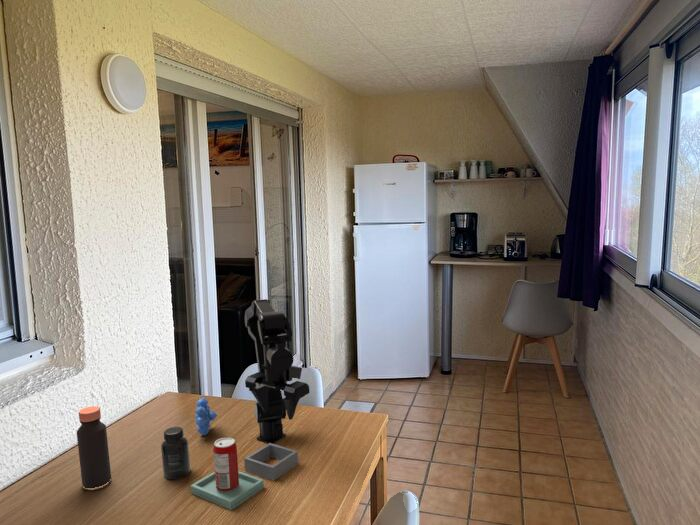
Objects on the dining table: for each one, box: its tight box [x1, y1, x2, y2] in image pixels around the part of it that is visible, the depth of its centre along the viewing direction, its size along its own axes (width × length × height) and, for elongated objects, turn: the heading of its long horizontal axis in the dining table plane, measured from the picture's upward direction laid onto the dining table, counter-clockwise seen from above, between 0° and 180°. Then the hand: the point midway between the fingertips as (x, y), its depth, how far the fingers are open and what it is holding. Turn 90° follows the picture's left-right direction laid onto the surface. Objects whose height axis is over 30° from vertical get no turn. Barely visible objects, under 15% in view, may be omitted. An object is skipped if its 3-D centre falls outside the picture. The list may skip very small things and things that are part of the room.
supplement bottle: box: [160, 426, 191, 480], centre depth 139 cm, size 7×7×12 cm
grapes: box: [194, 397, 218, 436], centre depth 162 cm, size 12×7×12 cm, turn 8°
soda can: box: [212, 437, 239, 492], centre depth 130 cm, size 6×6×12 cm
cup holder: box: [243, 443, 299, 482], centre depth 141 cm, size 10×10×4 cm
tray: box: [190, 470, 265, 510], centre depth 131 cm, size 14×11×2 cm
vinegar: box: [76, 405, 112, 488], centre depth 135 cm, size 7×7×20 cm
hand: (278, 415), depth 143 cm, fingers open, 9 cm apart
